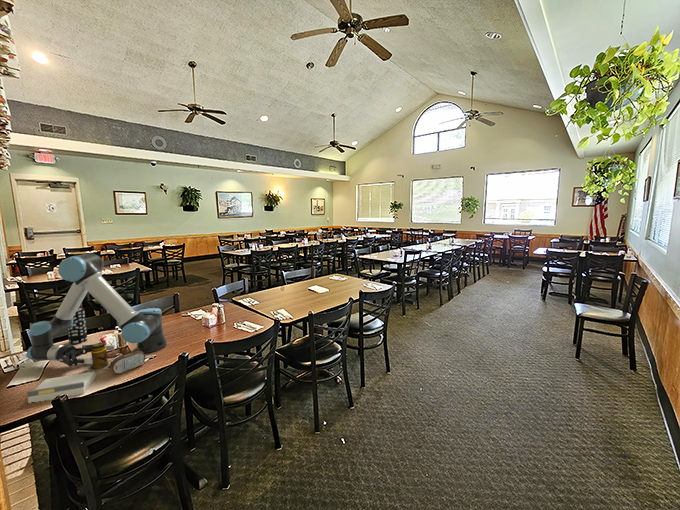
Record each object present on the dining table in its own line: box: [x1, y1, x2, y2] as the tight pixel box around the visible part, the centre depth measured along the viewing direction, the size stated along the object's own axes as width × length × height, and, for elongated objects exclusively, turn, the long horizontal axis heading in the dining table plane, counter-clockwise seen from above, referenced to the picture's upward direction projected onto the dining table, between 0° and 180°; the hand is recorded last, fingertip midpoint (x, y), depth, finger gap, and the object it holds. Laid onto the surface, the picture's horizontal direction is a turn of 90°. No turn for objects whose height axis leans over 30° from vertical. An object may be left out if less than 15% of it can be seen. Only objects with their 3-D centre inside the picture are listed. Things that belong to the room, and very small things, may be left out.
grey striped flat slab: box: [26, 370, 96, 404], centre depth 129 cm, size 18×14×5 cm
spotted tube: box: [66, 307, 88, 346], centre depth 175 cm, size 8×8×20 cm
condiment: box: [86, 342, 111, 373], centre depth 148 cm, size 7×8×12 cm
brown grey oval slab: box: [109, 350, 146, 375], centre depth 146 cm, size 15×3×8 cm, turn 148°
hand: (103, 354), depth 148 cm, fingers open, 13 cm apart
